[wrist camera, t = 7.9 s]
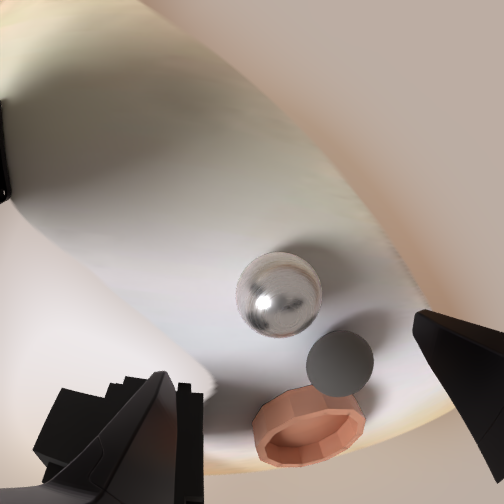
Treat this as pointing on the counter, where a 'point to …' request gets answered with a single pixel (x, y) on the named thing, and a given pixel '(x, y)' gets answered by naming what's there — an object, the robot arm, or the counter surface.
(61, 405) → the toy
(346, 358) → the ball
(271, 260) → the steel ball
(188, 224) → the counter surface
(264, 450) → the dish
